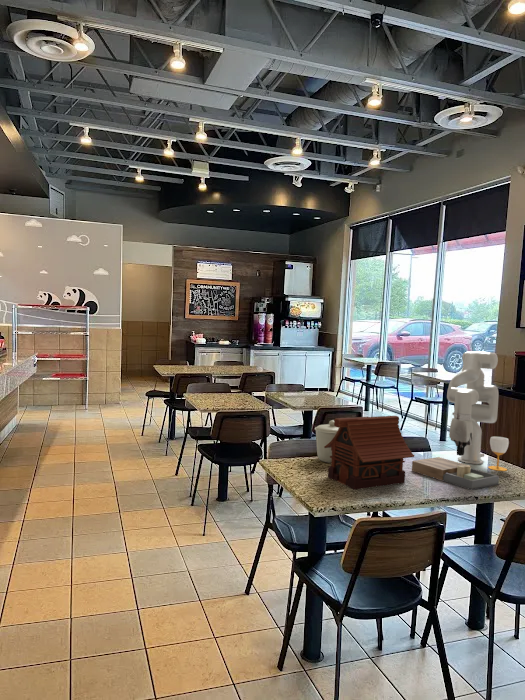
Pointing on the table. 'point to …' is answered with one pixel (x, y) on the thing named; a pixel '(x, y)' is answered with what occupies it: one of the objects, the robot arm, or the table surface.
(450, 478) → the tray
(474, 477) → the sage block
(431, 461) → the tan wooden board
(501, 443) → the cup
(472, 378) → the robot arm
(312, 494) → the table surface
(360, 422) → the house
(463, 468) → the maple block
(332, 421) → the canister
